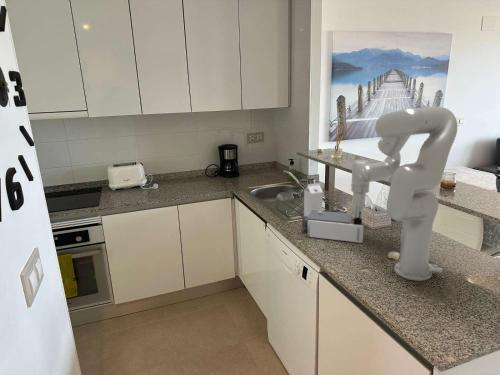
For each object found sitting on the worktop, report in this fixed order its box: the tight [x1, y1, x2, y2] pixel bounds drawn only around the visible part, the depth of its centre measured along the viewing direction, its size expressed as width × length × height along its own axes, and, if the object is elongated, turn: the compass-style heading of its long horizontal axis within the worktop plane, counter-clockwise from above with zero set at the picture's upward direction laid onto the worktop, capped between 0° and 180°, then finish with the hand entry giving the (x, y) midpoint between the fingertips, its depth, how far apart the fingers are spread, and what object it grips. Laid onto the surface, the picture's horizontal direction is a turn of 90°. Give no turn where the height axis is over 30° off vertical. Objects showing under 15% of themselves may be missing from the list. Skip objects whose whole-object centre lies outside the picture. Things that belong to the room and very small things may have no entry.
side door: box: [307, 220, 364, 244], centre depth 155 cm, size 25×2×8 cm, turn 69°
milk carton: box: [303, 182, 324, 217], centre depth 182 cm, size 7×7×19 cm
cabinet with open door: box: [301, 210, 353, 237], centre depth 163 cm, size 22×12×10 cm, turn 69°
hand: (357, 225), depth 157 cm, fingers closed
